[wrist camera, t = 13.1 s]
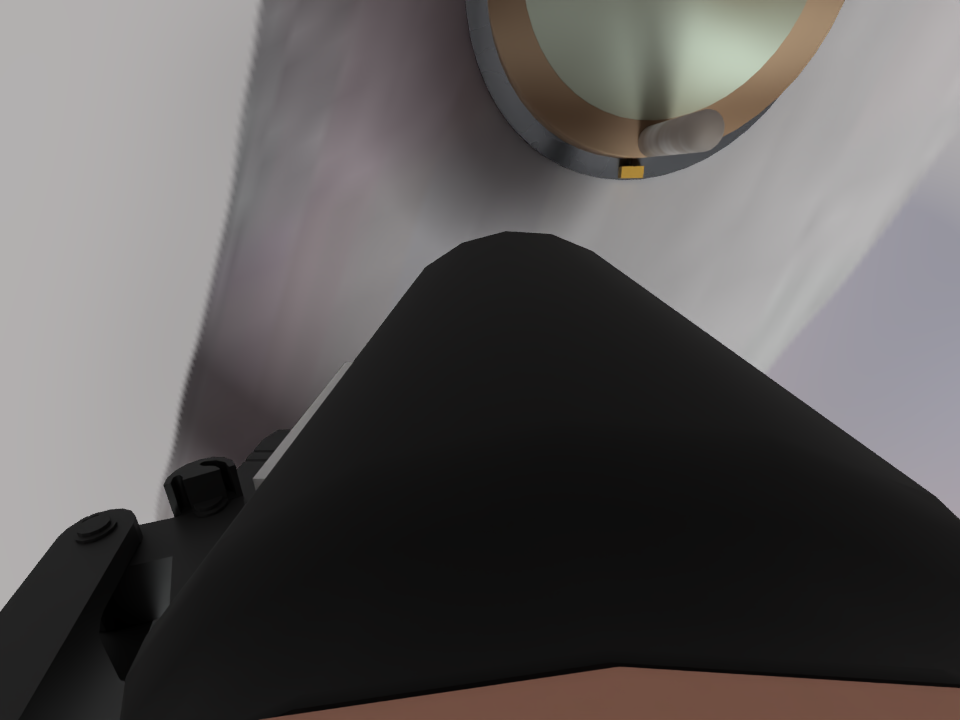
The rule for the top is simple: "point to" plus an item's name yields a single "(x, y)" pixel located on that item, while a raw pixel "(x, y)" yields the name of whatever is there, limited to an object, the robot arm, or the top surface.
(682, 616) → the coffee jar
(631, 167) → the wheel base
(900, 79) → the top surface
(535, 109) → the index wheel
